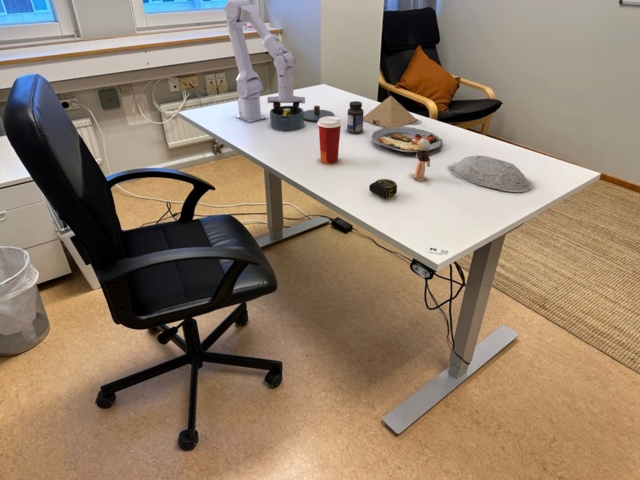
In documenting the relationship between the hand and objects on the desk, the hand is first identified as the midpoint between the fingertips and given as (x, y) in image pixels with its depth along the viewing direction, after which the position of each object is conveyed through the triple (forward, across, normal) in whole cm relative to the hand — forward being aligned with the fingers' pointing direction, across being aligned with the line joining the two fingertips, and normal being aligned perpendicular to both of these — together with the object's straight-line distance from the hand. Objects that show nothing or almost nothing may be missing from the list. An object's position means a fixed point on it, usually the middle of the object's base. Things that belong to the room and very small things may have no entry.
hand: (287, 121), depth 178 cm
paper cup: (+2, -17, +35) cm, 39 cm away
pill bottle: (+2, -27, +6) cm, 28 cm away
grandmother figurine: (+2, -45, +48) cm, 66 cm away
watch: (+2, 0, 0) cm, 2 cm away
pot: (+2, 0, 0) cm, 2 cm away
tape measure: (+2, -32, +60) cm, 68 cm away
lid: (+1, -12, -11) cm, 16 cm away
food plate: (+2, -45, +20) cm, 49 cm away
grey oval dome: (+2, -67, +47) cm, 82 cm away
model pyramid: (+2, -41, -8) cm, 42 cm away
